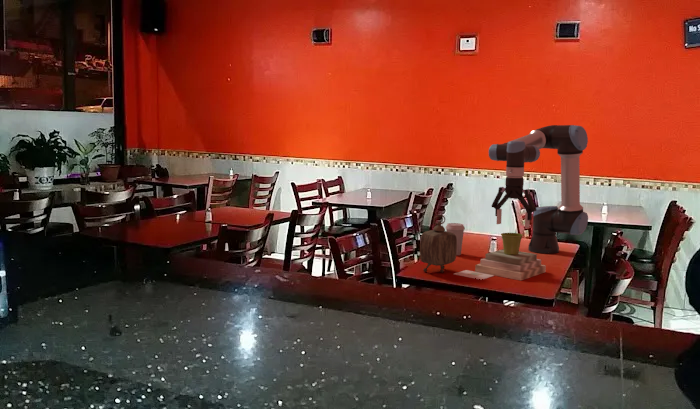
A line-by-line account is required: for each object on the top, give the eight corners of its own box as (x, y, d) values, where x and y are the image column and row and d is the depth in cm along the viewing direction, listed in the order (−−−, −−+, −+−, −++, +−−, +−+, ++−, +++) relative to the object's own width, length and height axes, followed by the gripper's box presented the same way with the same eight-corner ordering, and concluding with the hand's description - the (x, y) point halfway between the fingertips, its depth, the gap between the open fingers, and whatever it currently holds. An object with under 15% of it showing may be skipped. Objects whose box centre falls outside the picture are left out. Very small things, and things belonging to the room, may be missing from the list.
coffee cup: (442, 255, 308) (443, 225, 307) (447, 251, 317) (448, 222, 315) (461, 256, 305) (462, 226, 303) (465, 253, 314) (466, 223, 312)
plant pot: (495, 253, 273) (496, 234, 272) (506, 250, 280) (507, 231, 279) (515, 257, 267) (516, 237, 266) (525, 253, 274) (526, 234, 273)
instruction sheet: (466, 270, 276) (466, 269, 276) (494, 275, 266) (494, 275, 266) (453, 274, 269) (453, 273, 269) (481, 279, 259) (481, 279, 259)
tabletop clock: (442, 267, 281) (444, 212, 278) (457, 271, 274) (459, 215, 270) (419, 271, 272) (420, 215, 269) (433, 276, 265) (435, 217, 262)
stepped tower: (501, 264, 290) (501, 247, 289) (545, 272, 275) (546, 254, 274) (475, 271, 274) (475, 253, 273) (520, 280, 259) (521, 261, 258)
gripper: (484, 175, 275) (483, 223, 278) (537, 179, 258) (535, 230, 261) (493, 174, 280) (492, 221, 283) (545, 178, 263) (543, 228, 266)
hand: (512, 225), depth 272 cm, fingers open, 13 cm apart
